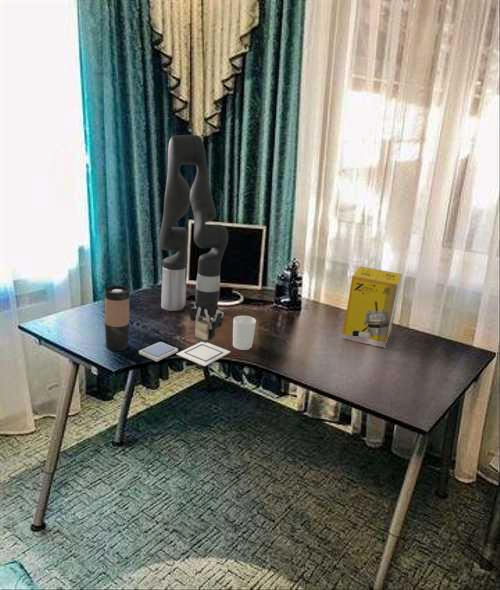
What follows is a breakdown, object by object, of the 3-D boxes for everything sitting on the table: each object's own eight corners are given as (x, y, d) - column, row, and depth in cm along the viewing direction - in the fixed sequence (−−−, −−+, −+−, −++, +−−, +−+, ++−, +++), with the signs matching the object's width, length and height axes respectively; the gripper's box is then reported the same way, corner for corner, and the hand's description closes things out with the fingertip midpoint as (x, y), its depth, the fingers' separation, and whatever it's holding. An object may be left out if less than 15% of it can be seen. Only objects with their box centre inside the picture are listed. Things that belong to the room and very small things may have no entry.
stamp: (203, 334, 164) (204, 317, 162) (214, 338, 162) (215, 321, 160) (194, 338, 160) (195, 321, 159) (205, 343, 158) (206, 325, 156)
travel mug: (133, 344, 165) (134, 288, 158) (120, 353, 158) (120, 295, 151) (114, 339, 167) (114, 284, 160) (100, 348, 160) (99, 290, 154)
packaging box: (385, 349, 180) (398, 284, 172) (342, 338, 185) (352, 276, 177) (390, 334, 194) (402, 274, 186) (350, 324, 200) (360, 266, 192)
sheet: (203, 341, 172) (203, 340, 172) (230, 352, 166) (230, 351, 166) (176, 354, 161) (176, 353, 160) (204, 366, 155) (204, 365, 154)
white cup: (257, 345, 173) (259, 319, 170) (247, 353, 167) (250, 326, 163) (237, 339, 176) (239, 313, 173) (227, 347, 169) (229, 320, 166)
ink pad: (160, 344, 167) (160, 340, 166) (177, 351, 163) (178, 348, 162) (138, 353, 159) (138, 350, 158) (156, 361, 155) (156, 358, 154)
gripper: (232, 290, 155) (228, 339, 160) (198, 279, 162) (195, 327, 168) (218, 295, 149) (214, 346, 154) (183, 284, 156) (180, 333, 162)
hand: (204, 336), depth 161 cm, fingers closed on stamp, 4 cm apart
